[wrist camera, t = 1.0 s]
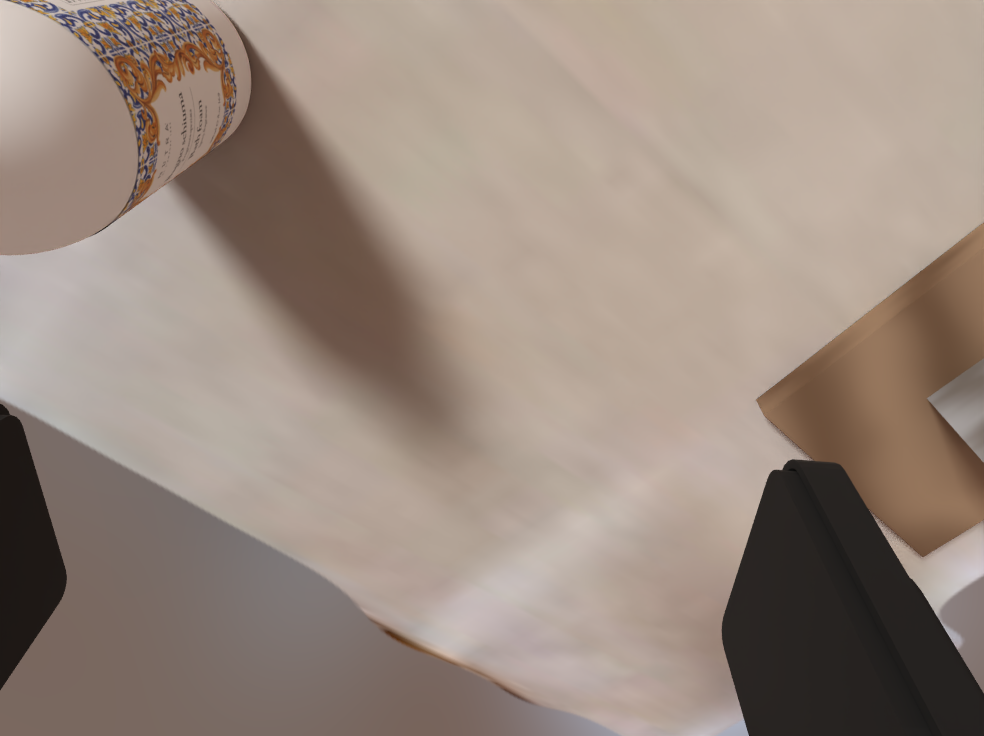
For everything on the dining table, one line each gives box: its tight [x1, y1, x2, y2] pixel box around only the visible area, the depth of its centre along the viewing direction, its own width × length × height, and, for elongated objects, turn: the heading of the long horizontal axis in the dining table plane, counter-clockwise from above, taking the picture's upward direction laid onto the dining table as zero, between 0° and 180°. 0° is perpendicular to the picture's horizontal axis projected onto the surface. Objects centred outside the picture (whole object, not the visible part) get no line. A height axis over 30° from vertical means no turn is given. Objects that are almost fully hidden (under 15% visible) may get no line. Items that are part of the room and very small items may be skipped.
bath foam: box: [0, 0, 251, 255], centre depth 23 cm, size 7×7×20 cm
